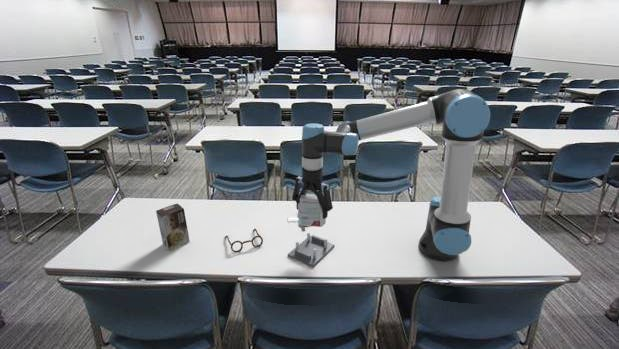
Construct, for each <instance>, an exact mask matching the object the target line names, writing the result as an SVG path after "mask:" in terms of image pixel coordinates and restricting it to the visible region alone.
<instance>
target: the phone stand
mask: <svg viewBox="0 0 619 349" xmlns="http://www.w3.org/2000/svg"><path fill="white" fill-rule="evenodd" d="M287 222H288V223H297V222H298V224H299V226H300V219H299V218H298V216H297V217H287ZM300 227H301V228H300V229H301V231H303V232H304V231H306V226H300Z"/></svg>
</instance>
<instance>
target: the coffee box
mask: <svg viewBox="0 0 619 349" xmlns="http://www.w3.org/2000/svg"><path fill="white" fill-rule="evenodd" d="M155 213H156V217H157V222H158V227H159V231H160V237H161V243H162V245H163V246H164V247H165V249H167V251H171V250H174V249H176V248H179V247H181V246H183V245H185V244H187V243H189V242H190V237H189V236H190V235H189V230H188V226H187V224H188V223H187V219H186V214H185V209H184V207H183V206H181V204H179V203H174V204H171V205H168V206H166V207H162V208H160V209H157V210H155Z"/></svg>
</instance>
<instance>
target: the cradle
mask: <svg viewBox="0 0 619 349" xmlns="http://www.w3.org/2000/svg"><path fill="white" fill-rule="evenodd" d="M306 236H307V237H306V238H305V239H304V240H303V241H302V242H300V243H299V241H296V242H295V247H294V248H293V249H292V250H290V252H289V253H287V257H288V258H290V259H293V260H295V261H297V262H300V263H301V264H304V265H306V266H309V267H312V268H315V266H316V265H318V264H319V262H320V261H321V260H322V259H323V258H324V257H326V255H328V254H329V253H330V251H331V250H333V249H334V248H335V244H334V243H332V242H329V241H328V239H327V238H323V237H319V236H317V235H314V234H312V235H311V233H310V232H307V234H306Z"/></svg>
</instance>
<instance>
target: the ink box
mask: <svg viewBox="0 0 619 349" xmlns="http://www.w3.org/2000/svg"><path fill="white" fill-rule="evenodd" d="M321 210H322V208H321V206H320V203H319V201H318V199H317V196H316V195H315V194H314V193H306V194H304V195H301V197H300V225H299V226H300V227H301V226H305V227H318V228H319V227H320V228H322V227H321V226H320V211H321Z"/></svg>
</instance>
